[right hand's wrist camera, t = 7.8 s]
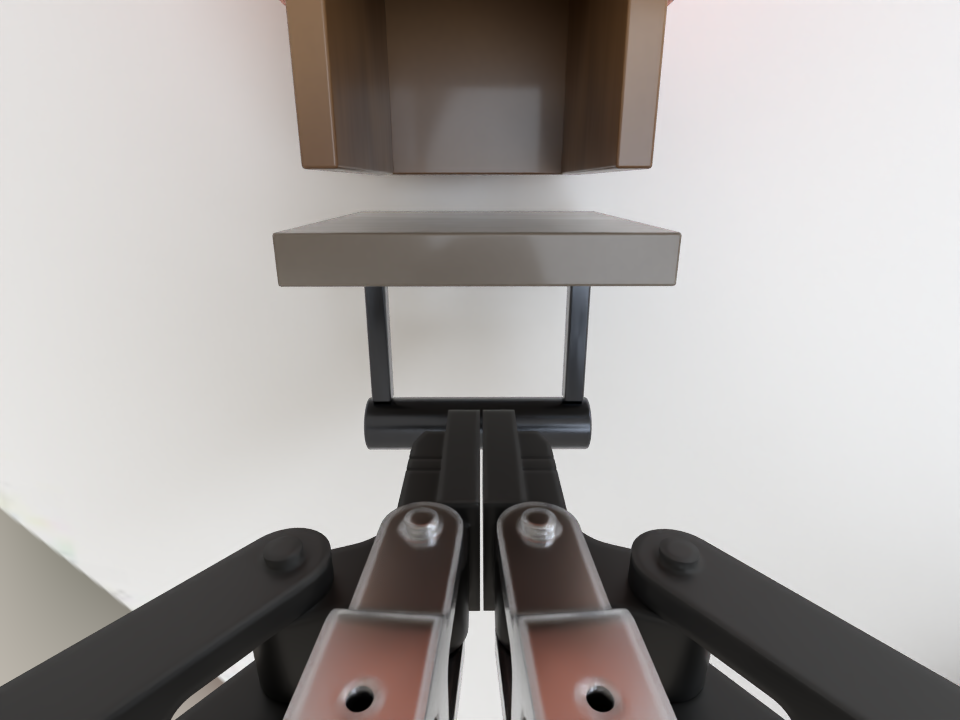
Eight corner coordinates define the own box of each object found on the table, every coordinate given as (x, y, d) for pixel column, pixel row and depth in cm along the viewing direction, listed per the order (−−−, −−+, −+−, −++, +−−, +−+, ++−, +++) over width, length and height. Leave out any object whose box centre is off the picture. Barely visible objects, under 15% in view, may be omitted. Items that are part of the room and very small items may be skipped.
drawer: (583, 384, 23) (650, 511, 14) (372, 384, 23) (304, 512, 14) (630, -336, 16) (825, -1002, 7) (322, -336, 16) (120, -1006, 7)
